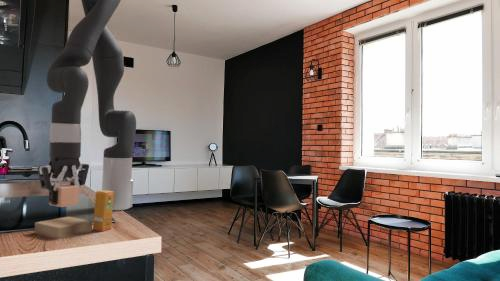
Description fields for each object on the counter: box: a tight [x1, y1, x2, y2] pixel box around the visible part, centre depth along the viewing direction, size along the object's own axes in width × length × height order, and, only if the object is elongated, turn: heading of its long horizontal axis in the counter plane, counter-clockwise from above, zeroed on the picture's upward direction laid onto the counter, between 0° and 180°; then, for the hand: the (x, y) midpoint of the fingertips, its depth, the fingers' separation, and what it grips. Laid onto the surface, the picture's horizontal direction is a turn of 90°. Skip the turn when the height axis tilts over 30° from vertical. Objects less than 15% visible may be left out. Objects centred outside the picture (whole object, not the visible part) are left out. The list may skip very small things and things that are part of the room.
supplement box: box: [92, 189, 114, 232], centre depth 91 cm, size 3×3×10 cm
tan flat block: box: [34, 216, 93, 240], centre depth 87 cm, size 9×9×3 cm
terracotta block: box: [48, 184, 80, 208], centre depth 95 cm, size 5×5×5 cm
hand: (63, 202), depth 95 cm, fingers closed on terracotta block, 5 cm apart
